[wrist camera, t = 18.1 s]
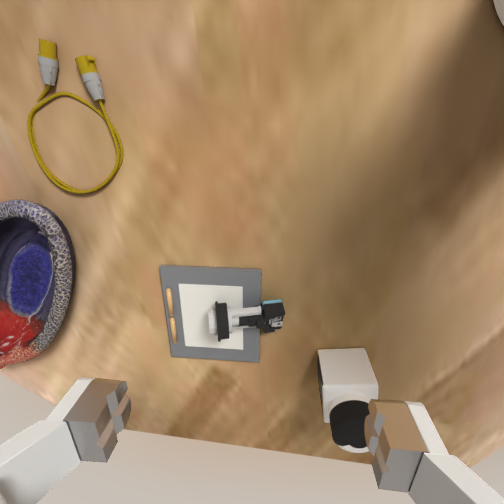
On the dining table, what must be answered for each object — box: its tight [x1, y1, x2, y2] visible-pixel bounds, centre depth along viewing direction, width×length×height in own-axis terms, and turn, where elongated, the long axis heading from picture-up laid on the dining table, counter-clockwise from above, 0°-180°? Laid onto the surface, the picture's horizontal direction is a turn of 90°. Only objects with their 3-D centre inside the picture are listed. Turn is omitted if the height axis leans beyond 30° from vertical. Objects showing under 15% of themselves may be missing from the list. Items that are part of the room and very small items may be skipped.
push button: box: [208, 299, 285, 342], centre depth 41 cm, size 7×5×10 cm
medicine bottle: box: [317, 348, 379, 453], centre depth 41 cm, size 7×7×12 cm
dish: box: [0, 200, 75, 369], centre depth 43 cm, size 16×31×5 cm, turn 148°
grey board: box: [160, 265, 261, 362], centre depth 44 cm, size 14×16×1 cm
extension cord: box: [28, 39, 123, 194], centre depth 35 cm, size 12×16×2 cm
